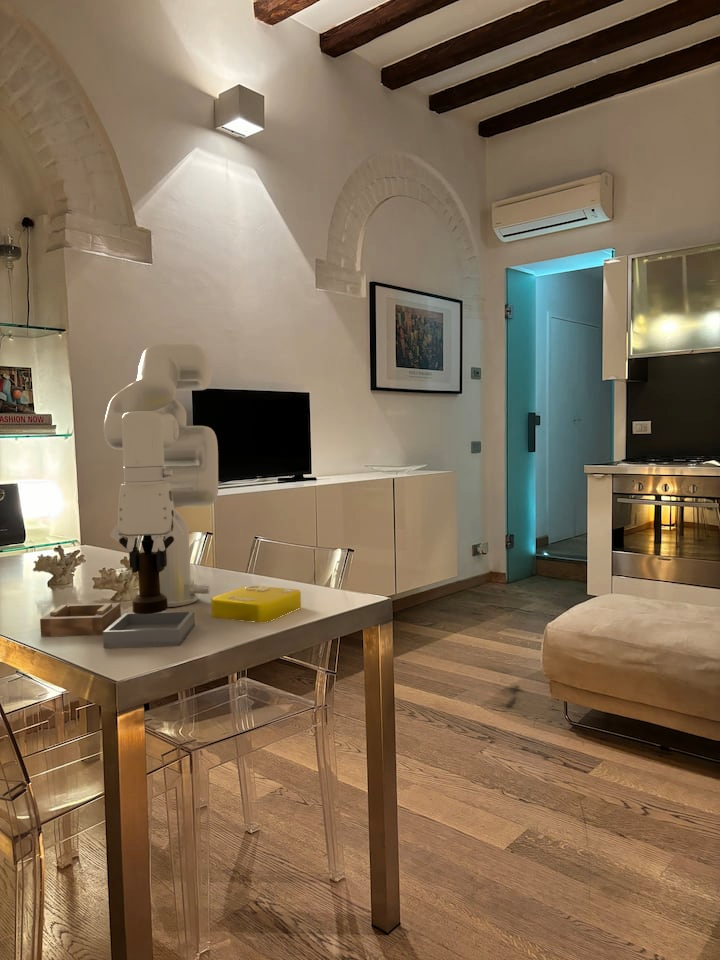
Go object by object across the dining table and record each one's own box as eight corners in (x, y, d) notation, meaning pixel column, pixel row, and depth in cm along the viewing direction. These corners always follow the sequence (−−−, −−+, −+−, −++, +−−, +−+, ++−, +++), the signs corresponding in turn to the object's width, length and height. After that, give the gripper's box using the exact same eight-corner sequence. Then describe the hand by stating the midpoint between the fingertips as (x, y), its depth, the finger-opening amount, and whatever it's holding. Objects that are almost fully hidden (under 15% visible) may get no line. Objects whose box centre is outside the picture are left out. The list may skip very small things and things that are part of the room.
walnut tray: (121, 619, 155) (120, 600, 155) (102, 634, 143) (101, 614, 143) (64, 620, 155) (63, 601, 155) (40, 636, 143) (39, 616, 143)
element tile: (207, 618, 156) (206, 596, 156) (249, 603, 169) (248, 582, 169) (265, 625, 149) (265, 602, 149) (304, 609, 162) (304, 587, 162)
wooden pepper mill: (136, 606, 144) (132, 516, 143) (170, 605, 145) (166, 515, 144) (129, 615, 137) (125, 520, 136) (164, 613, 138) (161, 518, 137)
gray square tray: (195, 625, 149) (194, 610, 149) (180, 645, 135) (179, 629, 135) (125, 627, 148) (125, 613, 148) (103, 647, 134) (102, 631, 134)
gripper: (192, 473, 143) (196, 566, 145) (106, 476, 143) (110, 568, 144) (184, 476, 136) (188, 573, 137) (93, 478, 136) (98, 576, 137)
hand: (148, 570), depth 141 cm, fingers closed on wooden pepper mill, 4 cm apart
